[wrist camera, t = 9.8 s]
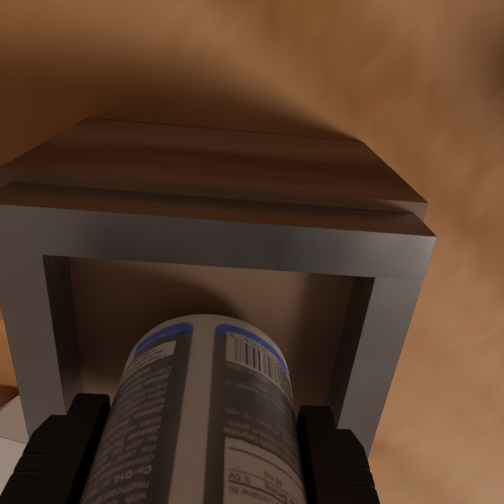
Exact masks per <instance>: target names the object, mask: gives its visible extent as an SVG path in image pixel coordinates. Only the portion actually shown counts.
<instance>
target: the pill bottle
mask: <svg viewBox="0 0 504 504" xmlns="http://www.w3.org/2000/svg"><path fill="white" fill-rule="evenodd" d="M78 504H308V499H307V493H306V486H305V480H304V473H303V465H302V458H301V451H300V443H299V438H298V430H297V422H296V419H295V411H294V404H293V395H292V389H291V383H290V377H289V372H288V368H287V364H286V361H285V359H284V357H283V354H282V352H281V351H280V349H279V348H278V346H277V345H276V344H275V343H274V342H273V341H272V340H271V339H270V338H269V337H268V336H267V335H266V334H265V333H264V332H262V331H261V330H260V329H258V328H257V327H255V326H253V325H251V324H249V323H247V322H245V321H242V320H239V319H235V318H232V317H227V316H222V315H213V314H196V315H188V316H183V317H178V318H174V319H171V320H168V321H165V322H163V323H161V324H159V325H158V326H156V327H154V328H153V329H151V330H150V331H149V332H148V333H146V334H145V335H144V336H143V337H142V338H141V339H140V341H139V342H138V343H137V344H136V345H135V347H134V348H133V350H132V351H131V353H130V356H129V358H128V360H127V363H126V365H125V368H124V371H123V374H122V376H121V379H120V382H119V385H118V387H117V391H116V394H115V396H114V400H113V403H112V406H111V408H110V411H109V415H108V418H107V420H106V423H105V426H104V428H103V431H102V434H101V438H100V441H99V444H98V447H97V450H96V453H95V456H94V459H93V462H92V465H91V468H90V471H89V474H88V477H87V480H86V484H85V486H84V489H83V491H82V495H81V498H80V501H79V503H78Z"/></svg>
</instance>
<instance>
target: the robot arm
mask: <svg viewBox="0 0 504 504" xmlns="http://www.w3.org/2000/svg"><path fill="white" fill-rule="evenodd" d="M110 408H111V405H110V397H109V395H108V394H92V393H77V394H76V395H75V397H74V399H73V401H72V403H71V405H70V407H69V410H68V412H67V414H66V415H54V414H51V415H50V416H49V417H48V418H47V419H46V420H45V421H44V422H43V423H42V424H41V425H40V426H39V427H38V428H37V429H36V430H35V431H34V432H33V433H32V435H31V437H30V439H29V441H28V443H27V445H26V447H25V449H24V451H23V454H22V457H20V458H19V460H18V462H17V464H16V466H15V468H14V470H13V474H12V475H11V476H10V478H9V480H8V481H7V483H6V485H5V487H4V489H3V491H2V493H1V495H0V504H78V503H79V501H80V498H81V495H82V491H83V489H84V486H85V484H86V480H87V477H88V474H89V471H90V468H91V465H92V462H93V459H94V456H95V453H96V450H97V447H98V444H99V441H100V438H101V434H102V431H103V428H104V426H105V423H106V420H107V418H108V415H109V411H110ZM297 430H298V438H299V443H300V451H301V458H302V465H303V473H304V480H305V486H306V493H307V499H308V504H380V502H379V498H378V495H377V491H376V490H375V484H374V481H373V477H372V474H371V472H370V467H369V463H368V460H367V456H366V453H365V449H364V447H363V446H362V444H361V443H360V441H359V440H358V439H357V437H356V436H355V435H354V433H353V432H352V430H351V429H336V427H335V422H334V418H333V414H332V410H331V408H330V407H329V406H315V405H300V408H299V412H298V418H297Z"/></svg>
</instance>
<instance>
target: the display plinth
mask: <svg viewBox="0 0 504 504" xmlns="http://www.w3.org/2000/svg"><path fill="white" fill-rule="evenodd" d="M0 188H1V189H0V304H1V309H2V314H3V319H4V323H5V328H6V333H7V338H8V343H9V347H10V352H11V357H12V362H13V366H14V371H15V376H16V381H17V386H18V390H19V395H20V400H21V405H22V410H23V414H24V419H25V424H26V429H27V433H28V438H29V439H30V437H31V435H32V433H33V432H34V431H35V430H36V429H37V428H38V427H39V426H40V425H41V424H42V423H43V422H44V421H45V420H46V419H47V418H48V417H49V416H50V415H51V414H54V415H66V414H67V412H68V410H69V407H70V405H71V403H72V401H73V399H74V397H75V395H76V394H77V393H92V394H108V395H109V397H110V405H111V406H112V403H113V400H114V396H115V394H116V391H117V387H118V385H119V382H120V379H121V376H122V374H123V371H124V368H125V365H126V363H127V360H128V358H129V356H130V353H131V351H132V350H133V348H134V347H135V345H136V344H137V343H138V342H139V341H140V339H141V338H142V337H143V336H144V335H145V334H146V333H148V332H149V331H150V330H151V329H153V328H154V327H156V326H158V325H159V324H161V323H163V322H165V321H168V320H171V319H174V318H178V317H183V316H188V315H196V314H213V315H222V316H227V317H232V318H235V319H239V320H242V321H245V322H247V323H249V324H251V325H253V326H255V327H257V328H258V329H260V330H261V331H262V332H264V333H265V334H266V335H267V336H268V337H269V338H270V339H271V340H272V341H273V342H274V343H275V344H276V345H277V346H278V348H279V349H280V351H281V352H282V354H283V357H284V359H285V361H286V364H287V368H288V372H289V377H290V383H291V389H292V395H293V404H294V411H295V419H296V422H297V418H298V412H299V408H300V405H315V406H329V407H330V408H331V410H332V414H333V418H334V422H335V427H336V429H351V430H352V432H353V433H354V435H355V436H356V437H357V439H358V440H359V441H360V443H361V444H362V446H363V447H364V449H365V453H366V456H367V459H368V455H369V452H370V449H371V446H372V443H373V439H374V436H375V433H376V430H377V427H378V423H379V420H380V417H381V414H382V411H383V407H384V404H385V401H386V398H387V395H388V391H389V388H390V385H391V382H392V379H393V376H394V372H395V369H396V366H397V363H398V360H399V356H400V353H401V350H402V347H403V344H404V340H405V337H406V334H407V331H408V328H409V324H410V321H411V318H412V315H413V312H414V308H415V305H416V302H417V299H418V296H419V292H420V289H421V286H422V283H423V280H424V276H425V273H426V270H427V267H428V264H429V260H430V257H431V254H432V251H433V248H434V244H435V241H436V238H437V236H436V235H435V234H434V233H433V232H432V231H431V230H430V229H429V228H428V227H427V226H426V225H425V224H424V223H423V220H424V216H425V213H426V210H427V206H428V202H427V201H426V200H425V199H423V198H422V197H421V196H420V195H419V194H418V193H417V192H416V191H415V190H414V189H413V188H412V187H411V186H410V185H408V184H407V183H406V182H405V181H404V180H403V179H402V178H401V177H400V176H399V175H398V174H397V173H396V172H395V171H393V170H392V169H391V168H390V167H389V166H388V165H387V164H386V163H385V162H384V161H383V160H382V159H381V158H380V157H378V156H377V155H376V154H375V153H374V152H373V151H372V150H371V149H370V148H369V147H368V146H367V145H366V144H365V143H363V142H360V141H349V140H337V139H326V138H314V137H302V136H291V135H279V134H268V133H256V132H245V131H233V130H222V129H210V128H199V127H187V126H176V125H164V124H153V123H141V122H129V121H118V120H106V119H95V118H86V119H84V120H82V121H81V122H79V123H77V124H75V125H74V126H72V127H70V128H68V129H67V130H65V131H63V132H61V133H59V134H58V135H56V136H54V137H52V138H51V139H49V140H47V141H45V142H44V143H42V144H40V145H38V146H37V147H35V148H33V149H31V150H30V151H28V152H26V153H24V154H23V155H21V156H19V157H17V158H16V159H14V160H12V161H10V162H8V163H7V164H5V165H3V166H1V167H0Z"/></svg>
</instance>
